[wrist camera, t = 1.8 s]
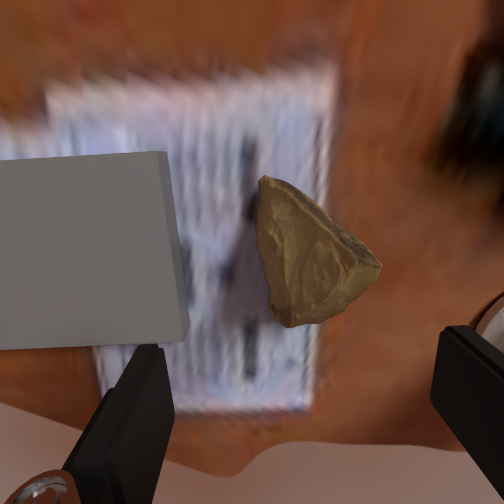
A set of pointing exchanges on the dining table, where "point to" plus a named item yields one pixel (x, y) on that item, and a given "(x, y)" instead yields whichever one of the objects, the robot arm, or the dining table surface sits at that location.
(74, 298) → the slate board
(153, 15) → the dining table surface
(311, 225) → the rock
